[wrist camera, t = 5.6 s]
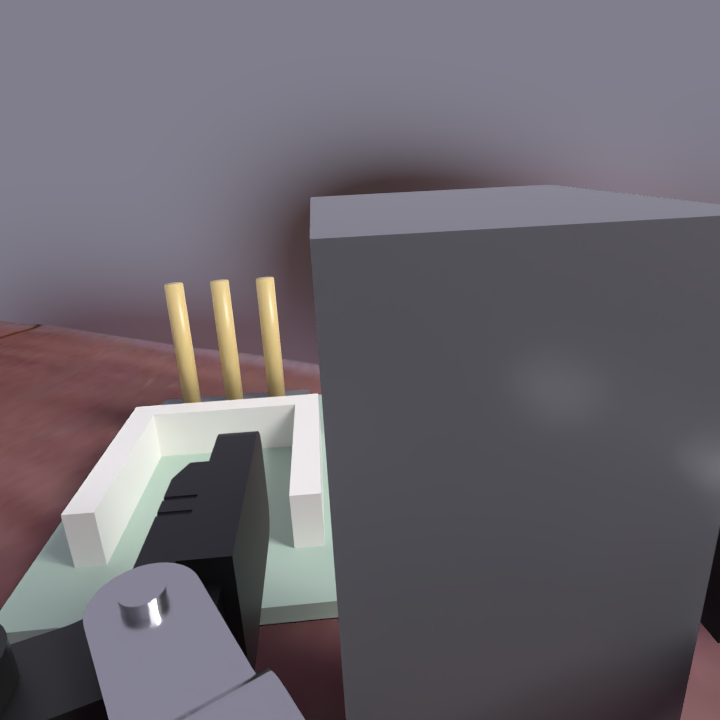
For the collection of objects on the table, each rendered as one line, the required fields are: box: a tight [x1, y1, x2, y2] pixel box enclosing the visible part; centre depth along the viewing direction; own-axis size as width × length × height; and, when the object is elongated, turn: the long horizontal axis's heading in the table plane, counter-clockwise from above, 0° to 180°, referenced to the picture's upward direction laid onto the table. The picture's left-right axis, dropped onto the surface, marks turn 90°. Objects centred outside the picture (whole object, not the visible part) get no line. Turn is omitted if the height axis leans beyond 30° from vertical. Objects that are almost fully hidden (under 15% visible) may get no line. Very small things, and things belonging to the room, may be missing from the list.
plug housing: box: [310, 185, 720, 720], centre depth 9 cm, size 5×4×12 cm
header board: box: [0, 277, 338, 644], centre depth 22 cm, size 15×11×8 cm
